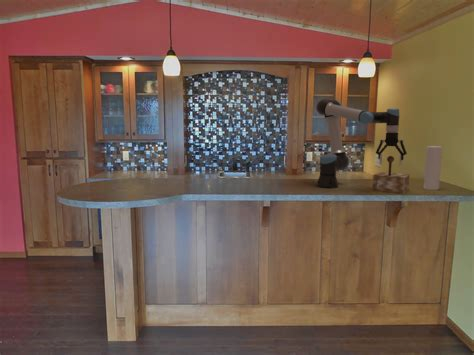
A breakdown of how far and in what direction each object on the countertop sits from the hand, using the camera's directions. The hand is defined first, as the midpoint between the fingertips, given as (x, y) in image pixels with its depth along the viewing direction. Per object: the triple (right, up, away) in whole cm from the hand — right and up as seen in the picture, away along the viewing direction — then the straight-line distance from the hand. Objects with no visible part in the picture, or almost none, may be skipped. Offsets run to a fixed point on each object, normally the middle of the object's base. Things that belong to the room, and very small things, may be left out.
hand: (390, 164), depth 233 cm
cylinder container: (+33, -17, +10) cm, 39 cm away
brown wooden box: (+3, -17, +7) cm, 19 cm away
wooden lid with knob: (+3, -7, +5) cm, 9 cm away
